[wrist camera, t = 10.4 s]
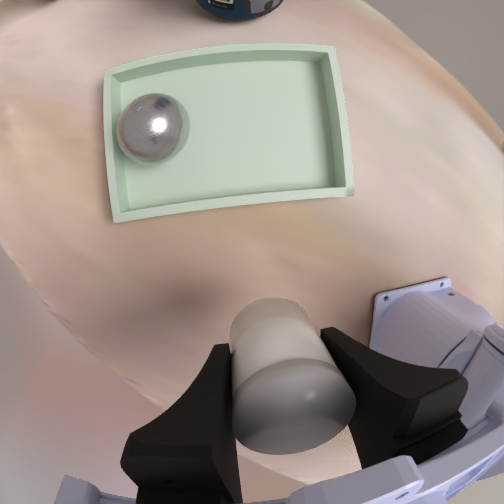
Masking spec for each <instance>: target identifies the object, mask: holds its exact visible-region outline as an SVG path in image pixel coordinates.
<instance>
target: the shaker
mask: <svg viewBox="0 0 504 504" xmlns="http://www.w3.org/2000/svg"><path fill="white" fill-rule="evenodd" d="M230 354H231V379H232V405H231V409H232V428H233V433H234V435H235V437H236V439H237V440H238V441H239V442H240V443H241V444H242V445H244V446H245V447H247V448H249V449H251V450H253V451H256V452H260V453H264V454H272V455H284V454H293V453H298V452H303V451H306V450H309V449H312V448H315V447H317V446H319V445H321V444H323V443H325V442H327V441H329V440H330V439H332V438H333V437H335V436H336V435H337V434H338V433H340V432H341V431H342V430H343V429H344V428H345V427H346V426H347V424H348V423H349V422H350V420H351V419H352V417H353V415H354V412H355V409H356V398H355V395H354V393H353V391H352V389H351V388H350V386H349V384H348V382H347V381H346V379H345V377H344V375H343V374H342V372H341V371H340V370H339V369H338V367H337V366H336V364H335V362H334V360H333V359H332V357H331V355H330V353H329V352H328V350H327V348H326V346H325V345H324V343H323V341H322V339H321V338H320V336H319V334H318V332H317V331H316V329H315V327H314V325H313V324H312V322H311V320H310V319H309V317H308V315H307V314H306V312H305V311H304V310H303V308H302V307H300V306H299V305H298V304H296V303H295V302H292V301H290V300H287V299H283V298H266V299H262V300H259V301H256V302H254V303H251V304H250V305H248V306H247V307H245V308H244V309H243V310H242V311H241V312H240V313H239V314H238V315H237V316H236V318H235V319H234V321H233V323H232V326H231V330H230Z"/></svg>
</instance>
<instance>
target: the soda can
mask: <svg viewBox="0 0 504 504" xmlns="http://www.w3.org/2000/svg"><path fill="white" fill-rule="evenodd" d="M282 1H283V0H197V2H198V3H199V4H200V5H201V6H202V7H203V8H204V9H206V10H207V11H209V12H211V13H213V14H215V15H217V16H219V17H222V18H225V19H230V20H248V19H253V18H257V17H260V16H263V15H265V14H267V13H269V12H271V11H273V10H274V9H276V8H277V7H278V6H279V5H280V4H281V3H282Z"/></svg>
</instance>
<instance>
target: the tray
mask: <svg viewBox="0 0 504 504" xmlns="http://www.w3.org/2000/svg"><path fill="white" fill-rule="evenodd" d="M150 93H163V94H167V95H170V96H172V97H174V98H176V99H177V100H178V101H179V102H180V103H181V104H182V105H183V106H184V107H185V109H186V111H187V113H188V115H189V119H190V133H189V137H188V140H187V142H186V144H185V146H184V147H183V149H182V150H181V151H180V152H179V153H178V154H177V155H176V156H175V157H174V158H172V159H170V160H169V161H167V162H164V163H161V164H157V165H144V164H140V163H137V162H135V161H133V160H131V159H130V158H128V157H127V156H126V155H125V154H124V152H123V151H122V150H121V148H120V146H119V143H118V140H117V124H118V121H119V118H120V116H121V114H122V112H123V110H124V109H125V108H126V107H127V106H128V105H129V104H130V103H131V102H132V101H133V100H135V99H136V98H138V97H140V96H143V95H146V94H150ZM103 117H104V141H105V156H106V167H107V177H108V186H109V194H110V201H111V208H112V215H113V221H114V223H119V222H125V221H131V220H137V219H143V218H150V217H156V216H163V215H169V214H176V213H183V212H191V211H198V210H206V209H214V208H222V207H230V206H239V205H248V204H258V203H268V202H278V201H289V200H301V199H313V198H327V197H342V196H354V180H353V167H352V155H351V145H350V136H349V127H348V120H347V112H346V105H345V99H344V93H343V87H342V81H341V76H340V70H339V65H338V60H337V56H336V51H335V47H333V46H323V45H311V44H294V43H251V44H233V45H221V46H212V47H203V48H196V49H189V50H183V51H177V52H172V53H167V54H162V55H157V56H153V57H149V58H144V59H140V60H137V61H133V62H129V63H126V64H122V65H119V66H116V67H112V68H109V69H106V70H104V85H103Z"/></svg>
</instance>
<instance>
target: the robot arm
mask: <svg viewBox="0 0 504 504" xmlns="http://www.w3.org/2000/svg"><path fill="white" fill-rule="evenodd" d="M450 285H451V279H450V278H449V277H445V278H441V279H437V280H433V281H429V282H425V283H421V284H417V285H413V286H409V287H404V288H400V289H395V290H391V291H386V292H382V293H378V294H377V295H376V297H375V303H374V313H373V323H372V331H371V339H370V346H369V348H368V347H366V346H364V345H363V344H361V343H359V342H357V341H356V340H354V339H352V338H351V337H349V336H347V335H346V334H344V333H342V332H341V331H339V330H338V329H336V328H334V327H329V328H324V329H321V335H320V338H321V339H322V341H323V343H324V345H325V346H326V348H327V350H328V352H329V353H330V355H331V357H332V359H333V360H334V362H335V364H336V366H337V367H338V369H339V370H340V371H341V372H342V374H343V375H344V377H345V379H346V381H347V382H348V384H349V386H350V388H351V389H352V391H353V393H354V395H355V398H356V409H355V412H354V415H353V417H352V419H351V420H350V422H349V423H348V426H349V429H350V432H351V434H352V437H353V440H354V443H355V446H356V450H357V453H358V456H359V460H360V463H361V467H362V470H359V471H356V472H353V473H350V474H347V475H343V476H340V477H337V478H333V479H329V480H325V481H321V482H318V483H315V484H312V485H309V486H305V487H303V488H301V489H299V490H297V491H295V492H293V493H292V494H291V495H290V496H289V497H288V498H284V499H278V500H270V501H263V502H253V503H243V500H242V493H241V485H240V477H239V469H238V461H237V450H236V439H235V435H234V433H233V428H232V409H231V405H232V379H231V354H230V349H229V343H226V344H216V345H214V347H213V349H212V351H211V353H210V355H209V357H208V359H207V361H206V363H205V364H204V366H203V368H202V369H201V371H200V373H199V374H198V376H197V377H196V378H195V380H194V381H193V383H192V384H191V385H190V387H189V388H188V389H187V390H186V392H185V393H184V394H183V395H182V396H181V397H180V398H179V399H178V400H177V401H176V402H175V403H174V404H173V405H172V406H171V407H170V408H169V409H167V410H166V411H165V412H164V413H162V414H161V415H160V416H159V417H157V418H156V419H154V420H153V421H151V422H150V423H148V424H146V425H145V426H143V427H141V428H139V429H137V430H136V431H134V432H132V433H130V435H129V437H128V439H127V442H126V444H125V447H124V450H123V454H122V458H121V461H120V464H121V468H122V469H123V471H124V472H125V473H126V474H127V475H128V476H129V477H130V479H131V480H132V481H133V482H134V483H135V484H136V485H137V486H138V493H137V498H136V499H133V498H128V497H122V496H117V495H112V494H108V493H104V492H100V490H98V488H97V487H96V486H94V485H93V484H91V483H89V482H87V481H84V480H81V479H77V478H74V477H71V476H68V475H65V476H64V477H63V480H62V483H61V486H60V488H59V491H58V494H57V497H56V500H55V503H54V504H448V502H447V501H448V500H450V499H451V498H453V497H454V496H455V495H457V494H458V493H460V492H461V491H462V490H463V489H465V488H466V487H468V486H469V485H470V484H471V483H473V482H474V481H478V480H481V479H486V478H489V477H492V476H495V475H498V474H501V473H503V472H504V325H503V324H501V323H498V322H494V319H493V317H492V316H491V314H490V313H489V312H488V311H487V310H486V309H485V308H484V307H482V306H480V305H479V304H477V303H475V302H474V301H472V300H471V299H469V298H467V297H466V296H464V295H462V294H461V293H459V292H457V291H455V290H454V289H452V288H450ZM385 296H386V298H385V299H384V297H385Z"/></svg>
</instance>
